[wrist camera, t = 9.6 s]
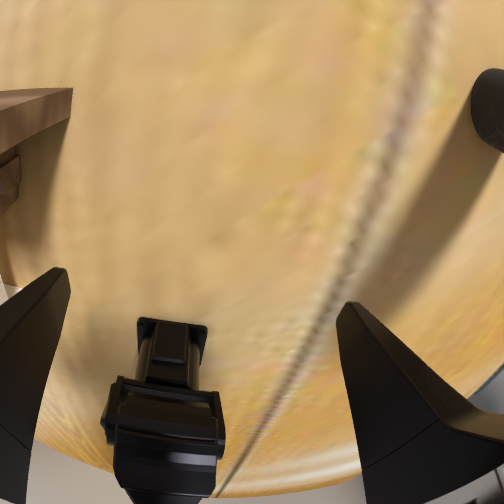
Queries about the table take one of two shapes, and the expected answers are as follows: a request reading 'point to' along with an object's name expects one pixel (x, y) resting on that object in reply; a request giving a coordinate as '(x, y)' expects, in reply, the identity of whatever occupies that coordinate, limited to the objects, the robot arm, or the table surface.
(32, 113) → the brown wooden block
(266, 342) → the table surface
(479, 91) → the travel mug
